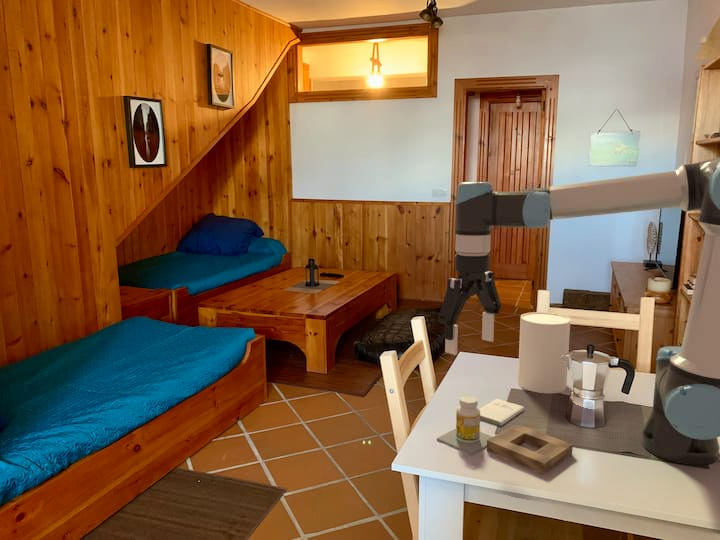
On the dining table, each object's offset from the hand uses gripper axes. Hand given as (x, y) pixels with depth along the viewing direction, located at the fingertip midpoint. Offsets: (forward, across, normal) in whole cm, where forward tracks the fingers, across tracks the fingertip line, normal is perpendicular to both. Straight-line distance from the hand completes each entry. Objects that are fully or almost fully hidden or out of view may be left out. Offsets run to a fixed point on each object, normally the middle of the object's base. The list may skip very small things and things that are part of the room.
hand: (470, 346), depth 127 cm
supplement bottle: (+22, 0, 0) cm, 22 cm away
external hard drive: (+23, -18, -4) cm, 29 cm away
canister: (+23, -44, -6) cm, 50 cm away
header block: (+23, -5, +13) cm, 26 cm away
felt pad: (+23, 0, 0) cm, 23 cm away
